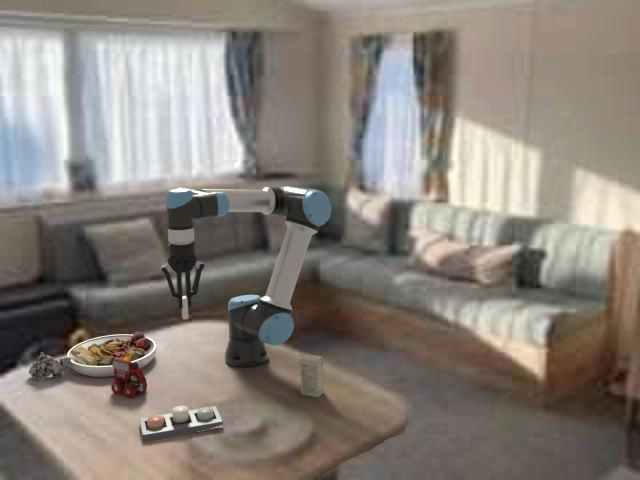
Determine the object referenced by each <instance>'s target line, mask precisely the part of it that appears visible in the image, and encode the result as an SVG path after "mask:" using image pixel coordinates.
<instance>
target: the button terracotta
mask: <svg viewBox="0 0 640 480" xmlns="http://www.w3.org/2000/svg"><path fill="white" fill-rule="evenodd" d="M161 415H162V414H154V415H151V416H148V417H149V418H148V419H147V427H146V429H147V430H152V429H158V428H164V427H165V424H164V417H163V416H161Z"/></svg>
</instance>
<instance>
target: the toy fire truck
mask: <svg viewBox="0 0 640 480" xmlns="http://www.w3.org/2000/svg"><path fill="white" fill-rule="evenodd" d="M112 363H113V368H114V376H113V377H114V380H113V382H112V384H111V386H110V388H111V391H112V393H113V394H115V395H121V394H122V393H124V396H125V397H126V398H127V399H128V398H130V399H132V398H133V397H135V396H136V393H137V392H141V393H143V392H146V391H147V389H148V383H147V378H146V377H145V373H144V372H143V368H138V367H139V365H138V363H137V362H134V363H132V362H130V361H126V360H121V359H115V360H113V362H112Z"/></svg>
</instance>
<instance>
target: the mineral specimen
mask: <svg viewBox="0 0 640 480" xmlns="http://www.w3.org/2000/svg"><path fill="white" fill-rule="evenodd" d="M70 361H71V357H67V356H66V357H64V358H59V360H57V359H55V358H54V356H50V355H49V354H45V352H43V351H41V352H40V355H39V356H38V357H37V360H33V361H32V365H31V366H30V368H29V370H28V374H29V375H30V377H31V378H32V379H34V380H36V381H39V382H40V381H46V380H47V379H48V378H49V377H50V376H51V377H53V378H56V377H57V378H61V377H62V376H63V374H64V373H66V372H67V371H68V369H69V368H70V365H69V363H70Z"/></svg>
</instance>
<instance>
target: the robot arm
mask: <svg viewBox="0 0 640 480" xmlns="http://www.w3.org/2000/svg"><path fill="white" fill-rule="evenodd" d="M165 197H166V198H165V199H166V201H165V202H166V203H165V208H166V220H167V235H168V236H167V237H168V239H167V240H168V242H169V243H168V254H169V255H168V260H167V263H165V264H164V265H160V270H161V271H162V272H163V274H164V276H165V279H166V282H167V285H168V289H169V292H170V294H171V296H172V297H173V298H177V307H178V309H181V317H182V319H183V320H189V308H192V297H193V296H196V295H197V294H198V290H199V285H200V280H201V276H202V272H203V270H204V268H205V264H204V262H202V261H199V260H198V259H197V256H196V248H195V245H196V244H195V242H194V241H195V230H194V229H195V225H194V223H195V222H194V221H197V220H198V221H199V220H205V219H213V218H216V219H217V218H219V217H224V216H226V215H227V214H228V213H262V214H263V215H265V216H276V217H281V218H284V219H285V221H284V222H285V225H286V228H287V229H286V232H285V235H284V238H283V241H282V244H281V246H280V250H279V253H278V257H277V260H276V261H275V265H274V269H273V271H272V274H271V278H270V282H269V283H268V287H267V290H266V293H265V295H264V296H260V295H258V294H244V295H239V296H235V297H232V298H230V299H229V301H228V303H227V304H228V306H227V312H228V332H229V333H228V342H227V346H226V349H225V353H224V361H225V363H226V364H228V365H230V366H232V367H237V368H251V367H256V366H260V365H262V364H264V363H266V362H267V360H268V358H269V355H268V349H267V346H266V345H268V346H269V345H270V346H279V345H282V344H283V343H284V342H285V343H286V341H287V340H289V338H290V337H291V335H292V334H293V331H294V328H295V322H294V318H293V317H292V316H291V315H292V312H293V308H292V305H291V300H292V297H293V294H294V292H295V288H296V286H297V281H298V278H299V276H300V272H301V270H302V267H303V263H304V260H305V258H306V254H307V251H308V247H309V245H310V243H311V239H312V236H313V235H316V234H318V232H319V228H320V227H321V226H324V225H325V224H326V223H327V222H328V221H329V220H330V218H331V214H332V203H331V201H330V198H329V196H328V195H327V194H326V193H325V192H323V191H321V190H318V189H314V188H307V187H301V186H296V185H285V186H269V187H268V186H267V187H266V186H265V187H263V188H262V189H236V188H234V189H231V188H230V189H225V188H224V189H223V188H217V189H216V188H188V187H184V186H183V187H176V188H175V189H169V190H168V191H167V192H166V196H165ZM194 267H195V272H194V277H193V278H194V279H193V283H192V287H191V282H192V281H191V271H192V269H194ZM170 268H171V269H172V270H173V271H174V272H175V274H176V275H175V276H176V277H175V278H176V290H175V286H174V283H173V280H172V277H171V274H170V270H171V269H170ZM183 273H184V283H185V284H184V285H185V295H183V283H182V282H183V281H182V279H183V278H182V276H183Z"/></svg>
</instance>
